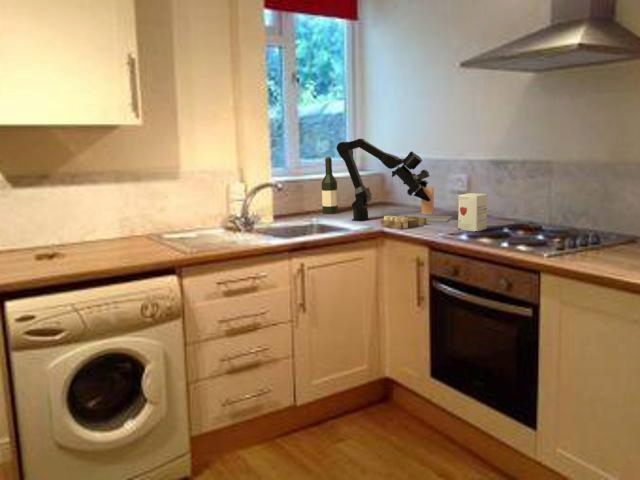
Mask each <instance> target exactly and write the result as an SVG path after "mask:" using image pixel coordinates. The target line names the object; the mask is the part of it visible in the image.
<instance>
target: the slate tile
mask: <svg viewBox="0 0 640 480" xmlns="http://www.w3.org/2000/svg"><path fill="white" fill-rule="evenodd" d="M412 216H413V217H422V218H426V223H431V222H432V223H447V222H448V221H452V220H453V216H452V215H451V216H450V215H449V216H448V215H444V216H443V215H412Z"/></svg>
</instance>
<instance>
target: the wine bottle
mask: <svg viewBox="0 0 640 480" xmlns="http://www.w3.org/2000/svg"><path fill="white" fill-rule="evenodd" d="M324 161H325V163H324V165H325V175H324V177H323V179H322V181H321V195H322V196H321V201H322V214H323V215H335V214H338V213H339V201H338V200H339V198H338V196H339V195H338V180H337V179H336V178H335V176H334V175H333V165H332V163H333V162H332V158H331V156H326V157H325V159H324Z"/></svg>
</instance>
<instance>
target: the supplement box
mask: <svg viewBox="0 0 640 480" xmlns="http://www.w3.org/2000/svg"><path fill="white" fill-rule="evenodd" d="M457 218H458V220H457V221H458V225H457V227H458V230H459V231H468V232H475V231H477V232H480V231H483V230H486V229H488V225H487V224H488V193H473V192H472V193H471V192H469V193H464V194H459V195H458V217H457Z"/></svg>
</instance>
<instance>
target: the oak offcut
mask: <svg viewBox="0 0 640 480" xmlns="http://www.w3.org/2000/svg"><path fill="white" fill-rule="evenodd" d="M395 221H396V222H403V229H402V230H407V229H409V228H408V218H406V217H405V216H397V217H395ZM406 228H407V229H406Z"/></svg>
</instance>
